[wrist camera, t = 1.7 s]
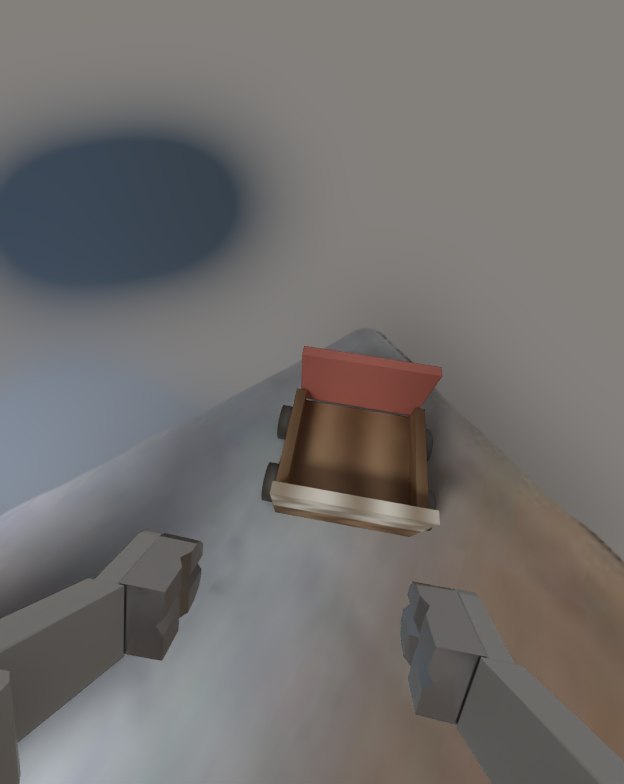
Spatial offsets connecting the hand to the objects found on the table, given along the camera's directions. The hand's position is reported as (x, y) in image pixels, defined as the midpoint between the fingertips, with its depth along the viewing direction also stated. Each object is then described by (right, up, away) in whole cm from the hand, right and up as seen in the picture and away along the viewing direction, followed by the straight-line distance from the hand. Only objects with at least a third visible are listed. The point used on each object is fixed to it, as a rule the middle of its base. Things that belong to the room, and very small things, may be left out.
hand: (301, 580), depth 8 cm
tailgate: (+6, +3, +33) cm, 33 cm away
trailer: (+5, -5, +32) cm, 32 cm away
